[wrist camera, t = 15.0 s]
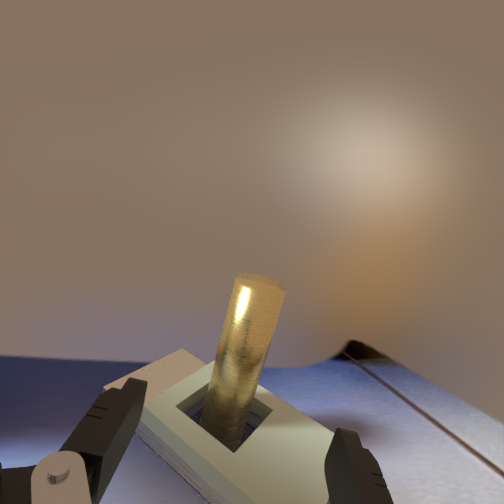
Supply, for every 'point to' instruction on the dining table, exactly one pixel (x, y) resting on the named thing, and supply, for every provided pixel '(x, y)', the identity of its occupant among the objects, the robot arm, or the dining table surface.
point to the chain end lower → (162, 378)
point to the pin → (241, 356)
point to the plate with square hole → (246, 446)
